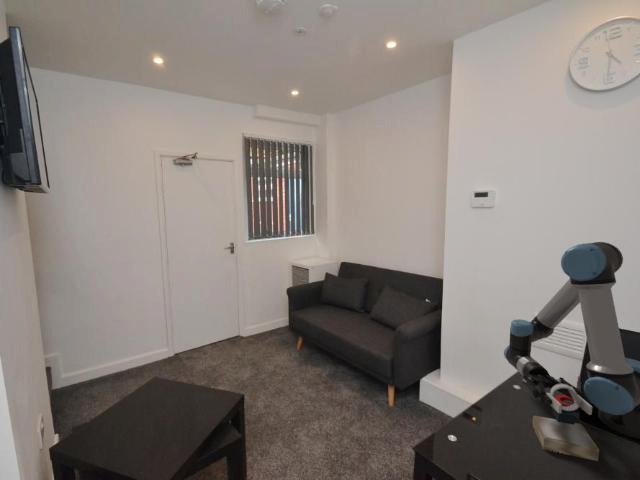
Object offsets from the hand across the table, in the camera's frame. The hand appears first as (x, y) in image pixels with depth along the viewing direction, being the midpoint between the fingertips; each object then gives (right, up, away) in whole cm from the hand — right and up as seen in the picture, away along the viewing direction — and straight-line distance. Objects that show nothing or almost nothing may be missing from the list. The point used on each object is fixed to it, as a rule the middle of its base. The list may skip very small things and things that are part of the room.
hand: (575, 409), depth 99 cm
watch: (0, -6, +5) cm, 8 cm away
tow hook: (+18, -12, +26) cm, 34 cm away
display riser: (+1, -13, +6) cm, 15 cm away
